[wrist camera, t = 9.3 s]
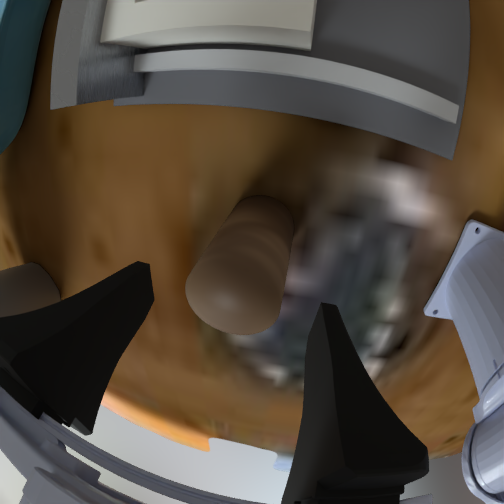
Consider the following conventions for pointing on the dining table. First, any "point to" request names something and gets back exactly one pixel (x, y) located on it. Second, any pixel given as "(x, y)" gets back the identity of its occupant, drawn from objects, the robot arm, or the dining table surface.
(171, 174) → the dining table surface
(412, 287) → the dining table surface
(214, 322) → the dowel
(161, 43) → the sliding block
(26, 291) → the vase
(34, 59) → the casserole dish
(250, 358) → the dining table surface
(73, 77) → the stop wall
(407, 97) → the slide board
